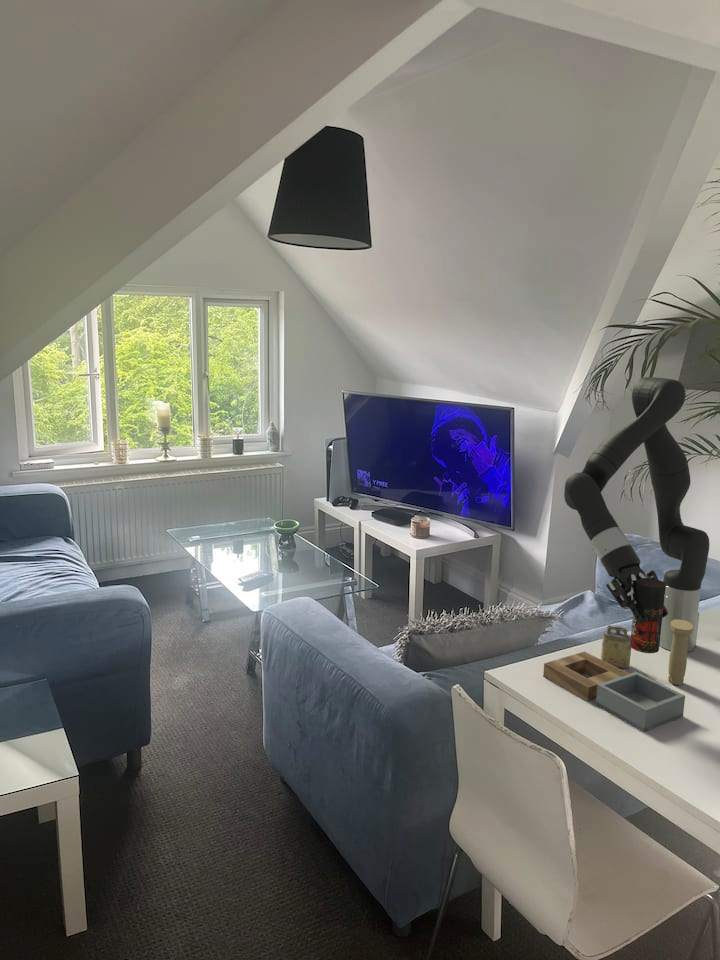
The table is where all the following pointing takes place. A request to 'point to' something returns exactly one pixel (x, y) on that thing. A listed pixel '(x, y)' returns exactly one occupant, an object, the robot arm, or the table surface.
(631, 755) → the table surface
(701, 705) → the table surface
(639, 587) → the deodorant
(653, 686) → the bin
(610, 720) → the table surface
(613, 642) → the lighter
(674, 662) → the handle
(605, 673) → the holder
